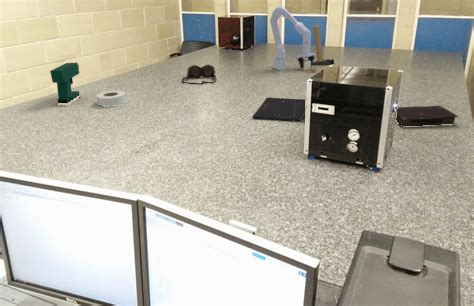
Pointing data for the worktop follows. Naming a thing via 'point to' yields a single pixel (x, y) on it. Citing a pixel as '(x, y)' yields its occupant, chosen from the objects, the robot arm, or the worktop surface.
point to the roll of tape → (111, 98)
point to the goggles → (200, 73)
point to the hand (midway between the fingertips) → (305, 67)
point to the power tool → (65, 81)
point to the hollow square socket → (306, 64)
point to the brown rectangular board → (309, 70)
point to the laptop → (281, 109)
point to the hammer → (320, 49)
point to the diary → (424, 116)
